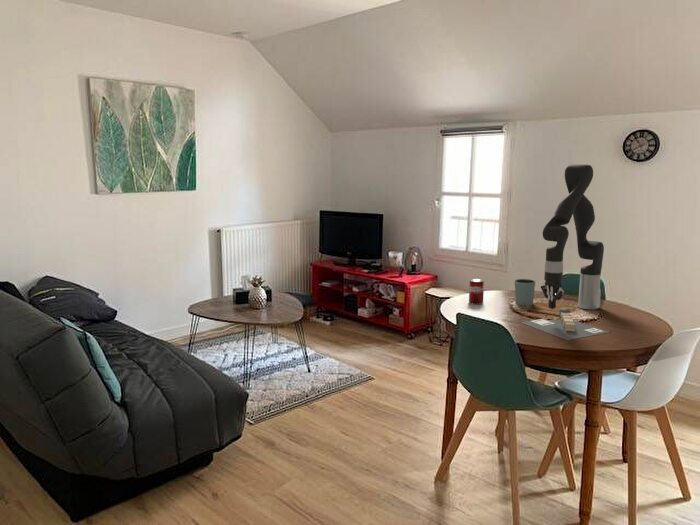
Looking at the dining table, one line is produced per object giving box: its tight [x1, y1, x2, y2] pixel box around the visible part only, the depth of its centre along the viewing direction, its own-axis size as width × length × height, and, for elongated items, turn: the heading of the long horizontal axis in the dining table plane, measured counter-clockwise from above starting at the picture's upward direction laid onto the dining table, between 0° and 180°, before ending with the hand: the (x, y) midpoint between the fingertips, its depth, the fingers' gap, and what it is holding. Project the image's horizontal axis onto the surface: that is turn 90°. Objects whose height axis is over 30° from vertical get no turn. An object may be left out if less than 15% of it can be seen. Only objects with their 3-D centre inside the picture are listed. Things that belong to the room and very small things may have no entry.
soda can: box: [468, 278, 485, 305], centre depth 277 cm, size 7×7×12 cm
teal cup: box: [514, 278, 536, 306], centre depth 275 cm, size 10×10×12 cm
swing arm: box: [558, 307, 575, 331], centre depth 239 cm, size 23×4×4 cm, turn 165°
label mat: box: [519, 318, 610, 341], centre depth 235 cm, size 24×28×1 cm
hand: (551, 308), depth 240 cm, fingers closed
